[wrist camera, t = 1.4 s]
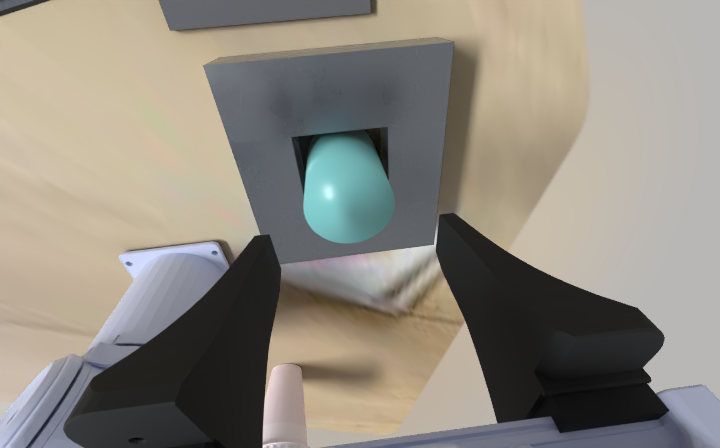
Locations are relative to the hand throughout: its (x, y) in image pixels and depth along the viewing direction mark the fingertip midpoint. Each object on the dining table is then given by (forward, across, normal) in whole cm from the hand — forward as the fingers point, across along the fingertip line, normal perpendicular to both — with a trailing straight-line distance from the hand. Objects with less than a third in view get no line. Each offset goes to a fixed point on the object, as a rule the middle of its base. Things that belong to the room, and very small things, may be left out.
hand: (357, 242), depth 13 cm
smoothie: (+10, +10, +29) cm, 32 cm away
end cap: (+11, 0, +1) cm, 11 cm away
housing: (+11, 0, +1) cm, 11 cm away
